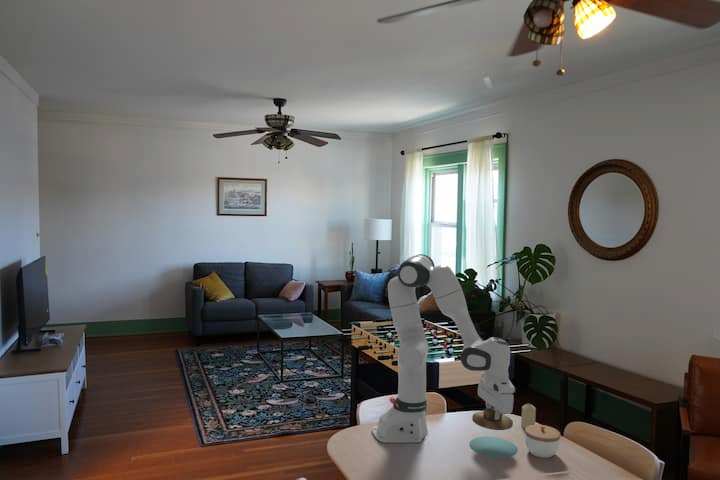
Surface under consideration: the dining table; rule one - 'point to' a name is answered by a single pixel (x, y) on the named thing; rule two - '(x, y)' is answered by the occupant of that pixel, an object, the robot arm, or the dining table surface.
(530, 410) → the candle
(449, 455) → the dining table surface
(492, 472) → the dining table surface
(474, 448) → the mat
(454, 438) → the dining table surface
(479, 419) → the lid
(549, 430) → the lidded bowl
